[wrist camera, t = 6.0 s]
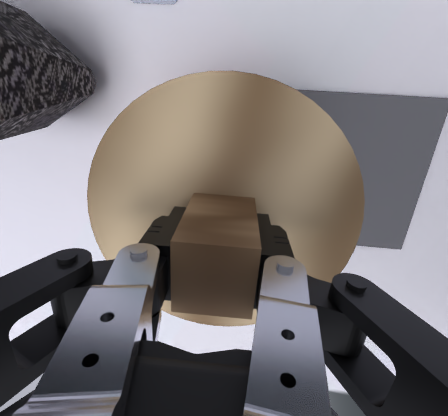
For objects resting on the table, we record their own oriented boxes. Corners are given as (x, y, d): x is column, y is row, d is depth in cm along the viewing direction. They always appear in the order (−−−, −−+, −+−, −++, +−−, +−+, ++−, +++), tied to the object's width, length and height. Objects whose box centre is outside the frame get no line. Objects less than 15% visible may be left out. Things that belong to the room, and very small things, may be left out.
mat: (449, 98, 26) (452, 98, 25) (399, 247, 32) (401, 249, 31) (277, 88, 27) (277, 88, 26) (260, 235, 33) (260, 237, 32)
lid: (393, 83, 11) (513, 75, 6) (325, 325, 16) (363, 426, 11) (78, 61, 11) (-42, 37, 7) (108, 304, 16) (52, 393, 12)
